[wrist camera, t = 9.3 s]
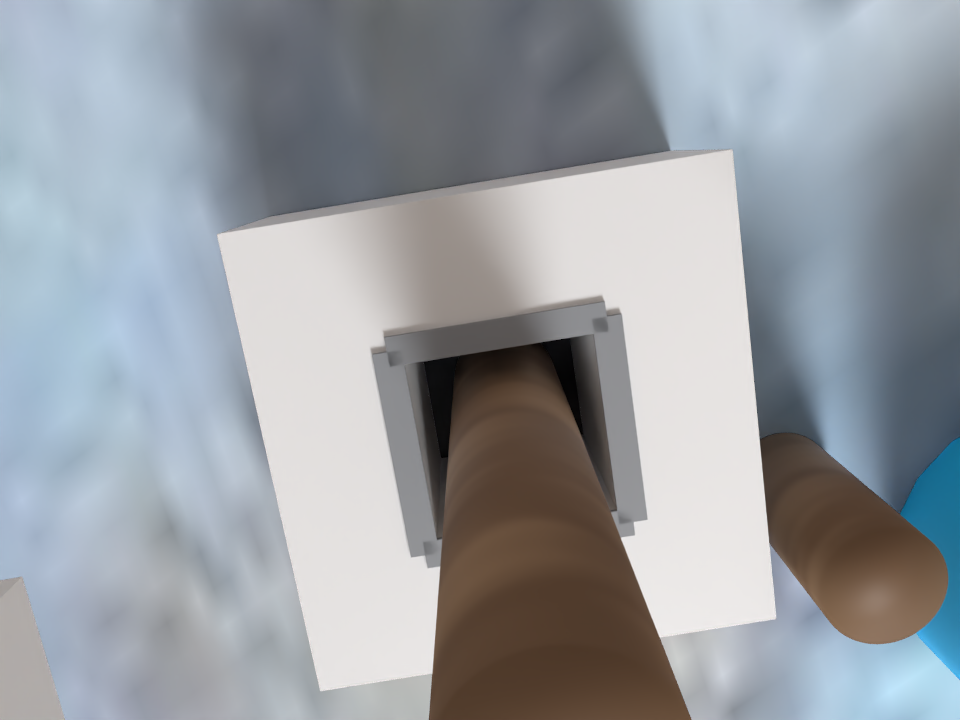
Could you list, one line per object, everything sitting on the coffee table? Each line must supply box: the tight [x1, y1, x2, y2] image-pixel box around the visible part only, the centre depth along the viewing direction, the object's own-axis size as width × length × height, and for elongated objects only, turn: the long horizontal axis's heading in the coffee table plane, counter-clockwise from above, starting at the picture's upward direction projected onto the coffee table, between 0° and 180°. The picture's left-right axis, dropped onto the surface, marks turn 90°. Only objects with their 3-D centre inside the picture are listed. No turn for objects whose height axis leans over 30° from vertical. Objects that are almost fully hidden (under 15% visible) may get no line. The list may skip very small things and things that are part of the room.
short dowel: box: [760, 433, 948, 644], centre depth 21 cm, size 3×3×6 cm
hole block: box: [217, 149, 776, 691], centre depth 21 cm, size 10×10×5 cm
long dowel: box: [429, 343, 691, 720], centre depth 16 cm, size 3×3×15 cm
